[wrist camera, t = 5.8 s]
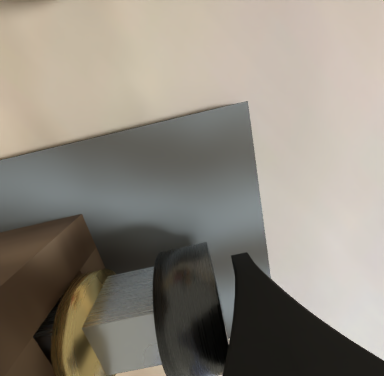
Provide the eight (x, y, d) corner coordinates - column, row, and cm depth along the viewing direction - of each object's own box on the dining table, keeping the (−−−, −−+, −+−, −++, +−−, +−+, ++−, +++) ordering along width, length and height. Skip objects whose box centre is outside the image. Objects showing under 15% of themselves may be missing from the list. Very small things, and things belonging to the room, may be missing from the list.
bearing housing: (269, 312, 14) (348, 484, 8) (2, 366, 15) (-150, 570, 8) (240, 103, 10) (359, 62, 3) (-131, 192, 11) (-682, 313, 4)
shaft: (219, 295, 11) (242, 404, 7) (-95, 361, 11) (-256, 498, 7) (202, 223, 9) (217, 302, 5) (-152, 301, 10) (-391, 428, 6)
